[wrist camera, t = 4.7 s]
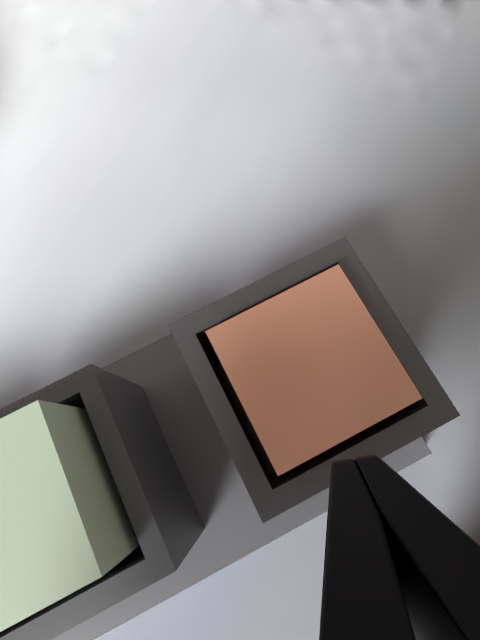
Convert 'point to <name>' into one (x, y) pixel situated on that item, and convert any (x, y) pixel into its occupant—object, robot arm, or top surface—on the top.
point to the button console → (211, 454)
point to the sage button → (55, 509)
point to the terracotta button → (311, 368)
